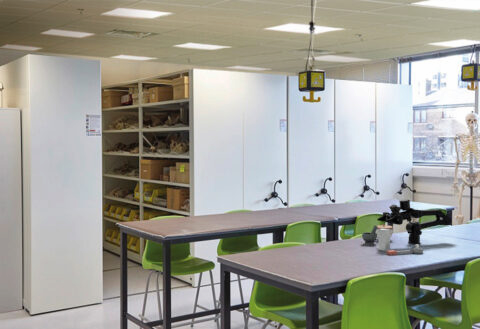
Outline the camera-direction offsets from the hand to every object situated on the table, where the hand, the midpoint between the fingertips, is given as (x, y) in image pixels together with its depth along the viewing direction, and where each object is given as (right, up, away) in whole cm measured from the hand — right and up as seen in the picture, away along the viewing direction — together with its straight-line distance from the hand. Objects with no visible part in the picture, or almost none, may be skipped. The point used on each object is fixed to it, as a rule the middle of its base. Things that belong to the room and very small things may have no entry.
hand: (381, 220), depth 386 cm
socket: (-1, -17, -13) cm, 22 cm away
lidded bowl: (+8, -16, +25) cm, 31 cm away
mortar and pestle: (-5, -17, +10) cm, 20 cm away
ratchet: (+8, -18, -26) cm, 33 cm away
